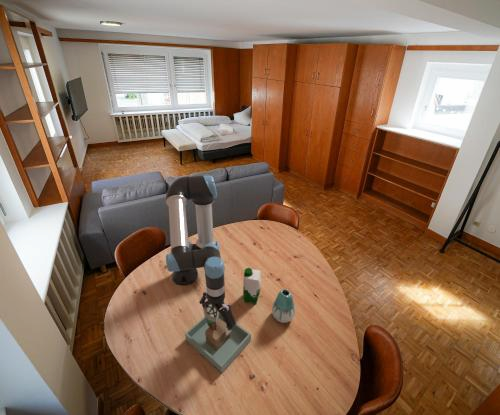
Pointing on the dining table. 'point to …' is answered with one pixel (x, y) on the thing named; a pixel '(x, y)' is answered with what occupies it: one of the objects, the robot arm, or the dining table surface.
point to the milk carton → (251, 285)
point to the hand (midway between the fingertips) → (217, 324)
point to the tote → (226, 351)
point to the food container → (211, 316)
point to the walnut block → (217, 335)
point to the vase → (283, 306)
